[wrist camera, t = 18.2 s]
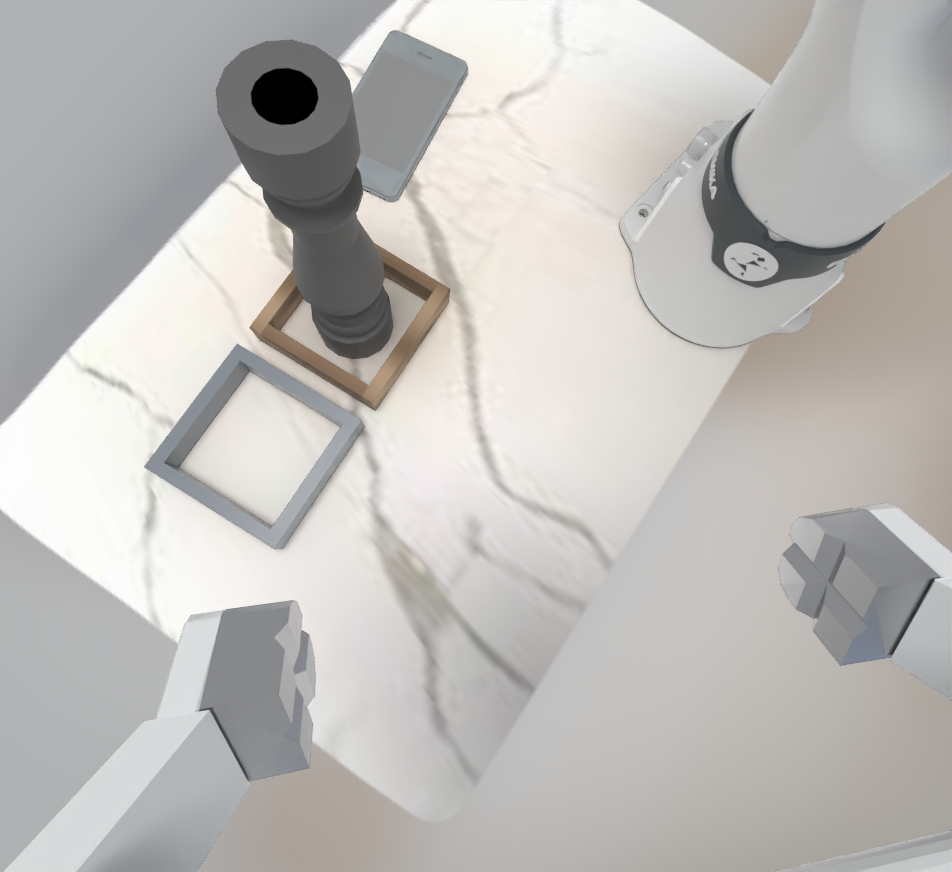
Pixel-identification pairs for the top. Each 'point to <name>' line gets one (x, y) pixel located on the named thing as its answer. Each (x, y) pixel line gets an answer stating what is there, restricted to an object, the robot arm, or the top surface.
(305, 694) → the robot arm
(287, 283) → the walnut frame
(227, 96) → the candle holder
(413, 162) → the phone
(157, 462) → the charcoal frame
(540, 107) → the top surface
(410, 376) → the top surface
